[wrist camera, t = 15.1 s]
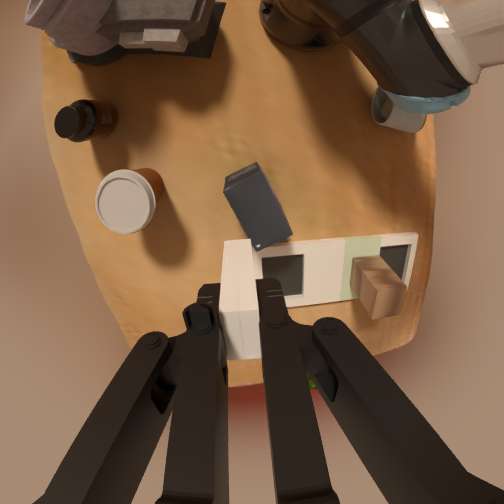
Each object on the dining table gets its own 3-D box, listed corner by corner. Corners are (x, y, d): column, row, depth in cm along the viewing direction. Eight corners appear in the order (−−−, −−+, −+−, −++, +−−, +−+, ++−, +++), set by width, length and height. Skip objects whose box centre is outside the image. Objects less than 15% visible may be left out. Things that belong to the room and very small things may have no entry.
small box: (284, 213, 50) (295, 236, 40) (251, 228, 51) (255, 254, 41) (258, 160, 45) (264, 170, 36) (223, 177, 46) (220, 192, 37)
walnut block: (349, 283, 55) (371, 319, 44) (352, 257, 52) (377, 291, 42) (374, 280, 55) (399, 314, 44) (378, 254, 53) (407, 286, 42)
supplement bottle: (87, 140, 41) (50, 149, 30) (85, 105, 38) (48, 105, 27) (119, 134, 41) (86, 140, 31) (118, 97, 38) (84, 93, 28)
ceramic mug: (405, 133, 43) (428, 136, 36) (369, 124, 43) (390, 125, 36) (408, 82, 39) (432, 79, 32) (372, 70, 38) (393, 63, 31)
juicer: (59, 69, 34) (-32, 60, 12) (80, -1, 27) (8, -38, 5) (207, 70, 38) (178, 20, 16) (229, -7, 31) (225, -89, 9)
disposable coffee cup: (169, 214, 48) (151, 241, 38) (121, 207, 47) (92, 232, 36) (175, 161, 44) (156, 174, 34) (124, 156, 43) (93, 168, 32)
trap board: (256, 305, 58) (257, 310, 57) (252, 245, 52) (252, 248, 51) (404, 286, 59) (407, 290, 57) (415, 231, 52) (418, 234, 51)
